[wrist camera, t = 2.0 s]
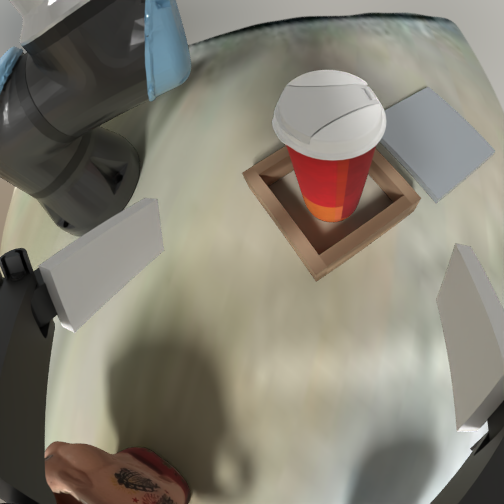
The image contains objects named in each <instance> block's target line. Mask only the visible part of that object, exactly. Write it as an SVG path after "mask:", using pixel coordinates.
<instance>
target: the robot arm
mask: <svg viewBox="0 0 504 504" xmlns="http://www.w3.org/2000/svg"><path fill="white" fill-rule="evenodd" d="M9 1H10V2H11V3H12V5H13V6H14V7H15V8H16V10H17V11H18V12H19V13H20V15H21V16H22V17H23V25H22V31H21V36H20V44H21V46H22V47H23V48H24V49H25V50H26V51H27V53H26V54H24V53H23V50H22V49H19V48H17V47H12V48H10V49H9V50H8V51H7V52H6V53H5V54H4V55H3V56H2V57H1V58H0V177H1V178H2V179H4V180H6V181H7V182H9V183H11V184H12V185H14V186H16V187H17V188H19V189H21V190H22V191H24V192H26V193H28V194H29V195H31V196H32V197H34V198H36V199H37V200H38V202H39V203H40V204H41V206H42V207H43V208H44V210H45V211H46V212H47V213H48V215H49V216H50V217H51V219H52V220H53V221H54V222H55V224H56V225H57V226H58V227H60V228H61V229H63V230H64V231H66V232H68V233H70V234H72V235H75V236H81V237H80V238H78V239H77V240H75V241H74V242H72V243H71V244H69V245H68V246H66V247H65V248H63V249H62V250H60V251H59V252H57V253H56V254H54V255H53V256H51V257H50V258H49V259H47V260H46V261H44V262H43V263H42V264H40V265H39V268H38V269H36V270H35V271H33V269H32V266H31V263H30V260H29V257H28V254H27V251H26V250H25V249H23V248H18V249H14V250H11V251H9V252H7V253H5V254H4V255H2V256H1V257H0V266H1V269H2V272H3V274H4V277H5V278H3V277H2V274H1V272H0V498H1V499H2V500H4V501H5V502H6V503H1V504H56V499H55V496H54V494H53V491H52V490H51V488H50V486H49V485H48V483H47V480H46V476H45V409H46V394H47V382H48V373H49V364H50V356H51V349H52V342H53V336H54V330H55V323H54V321H53V318H54V317H55V316H56V315H58V318H59V320H60V322H61V324H62V327H64V328H66V329H68V330H70V331H72V332H74V333H75V332H76V331H77V330H78V329H79V328H80V327H81V326H82V325H83V324H84V323H85V322H86V321H87V320H88V319H89V318H91V317H92V316H93V315H94V314H95V313H96V312H97V311H98V310H99V309H100V308H101V307H102V306H103V305H104V304H105V303H106V302H108V301H109V300H110V299H111V298H112V297H113V296H114V295H115V294H116V293H117V292H118V291H119V290H121V289H122V288H123V287H124V286H125V285H126V284H127V283H128V282H129V281H130V280H131V279H133V278H134V277H135V276H136V275H137V274H138V273H139V272H140V271H142V270H143V269H144V268H145V267H146V266H147V265H148V264H149V263H151V262H152V261H153V260H154V259H155V258H156V257H157V256H159V255H160V254H161V253H162V252H163V251H164V246H163V239H162V231H161V224H160V216H159V207H158V199H152V198H144V199H142V200H140V201H138V202H137V203H135V204H133V205H132V206H130V207H128V208H126V209H125V210H123V209H124V207H125V206H126V204H127V203H128V201H129V199H130V198H131V196H132V194H133V191H134V189H135V186H136V184H137V180H138V176H139V168H140V164H139V157H138V154H137V152H136V150H135V148H134V147H133V146H132V145H131V144H130V143H129V142H128V141H127V140H126V139H125V138H124V137H122V136H121V135H119V134H117V133H114V132H112V131H110V130H107V129H105V128H102V127H100V125H102V124H103V123H105V122H107V121H109V120H111V119H113V118H114V117H116V116H118V115H120V114H122V113H124V112H126V111H128V110H130V109H132V108H134V107H136V106H138V105H140V104H142V103H144V102H146V101H148V100H149V101H153V100H155V98H156V97H157V96H159V95H161V94H163V93H165V92H167V91H169V90H171V89H173V88H175V87H177V86H179V85H181V84H183V83H184V82H185V81H186V80H187V78H188V77H189V75H190V72H191V59H190V53H189V48H188V44H187V40H186V36H185V32H184V28H183V24H182V21H181V17H180V13H179V10H178V7H177V3H176V0H9ZM122 210H123V211H122ZM436 301H437V305H438V309H439V314H440V318H441V323H442V327H443V332H444V337H445V342H446V348H447V353H448V359H449V365H450V372H451V379H452V386H453V394H454V404H455V414H456V427H457V431H462V432H476V431H478V430H479V429H480V428H481V427H482V426H483V424H484V423H485V422H486V421H488V429H489V431H488V432H487V433H486V434H485V435H484V436H483V437H482V438H481V439H480V440H479V441H478V442H477V443H476V444H475V445H474V446H473V447H471V448H470V449H471V450H473V452H472V453H471V454H470V456H469V457H468V459H467V460H466V461H465V463H464V464H463V465H462V467H461V468H460V469H459V470H458V472H457V473H456V474H455V475H454V477H453V478H452V479H451V480H450V482H449V483H448V484H447V485H446V486H445V487H444V489H443V490H442V491H441V492H440V493H439V494H438V496H437V497H436V498H435V499H434V500H433V501H432V502H431V503H430V504H504V310H503V307H502V305H501V303H500V301H499V299H498V297H497V295H496V293H495V290H494V288H493V286H492V284H491V282H490V281H489V279H488V277H487V275H486V273H485V271H484V269H483V267H482V265H481V264H480V262H479V260H478V258H477V256H476V255H475V253H474V251H473V249H472V248H471V246H466V245H462V244H457V243H455V245H454V249H453V252H452V255H451V258H450V262H449V265H448V268H447V271H446V274H445V276H444V279H443V282H442V285H441V288H440V290H439V293H438V296H437V298H436Z"/></svg>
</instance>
